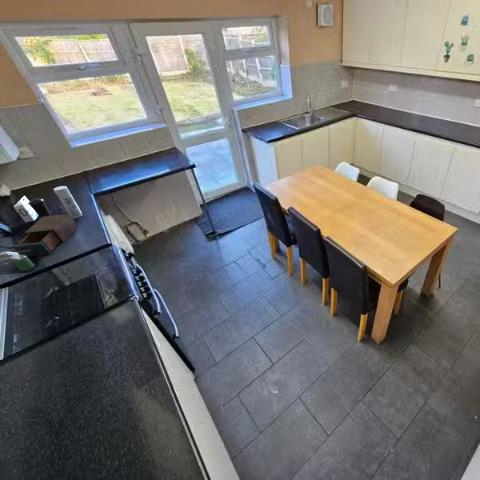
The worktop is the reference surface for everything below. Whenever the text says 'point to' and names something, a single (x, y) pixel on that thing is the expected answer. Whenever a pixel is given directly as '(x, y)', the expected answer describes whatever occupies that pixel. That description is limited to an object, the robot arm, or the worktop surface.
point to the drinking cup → (39, 207)
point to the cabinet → (55, 226)
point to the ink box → (25, 210)
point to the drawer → (37, 243)
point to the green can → (24, 263)
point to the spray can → (68, 201)
